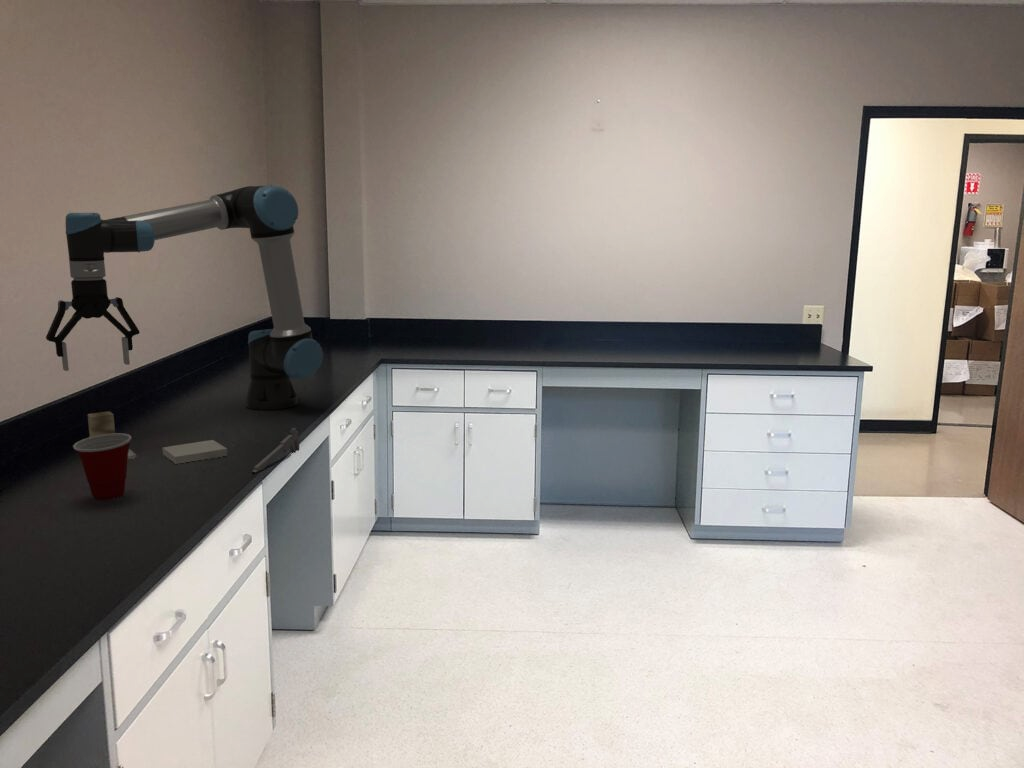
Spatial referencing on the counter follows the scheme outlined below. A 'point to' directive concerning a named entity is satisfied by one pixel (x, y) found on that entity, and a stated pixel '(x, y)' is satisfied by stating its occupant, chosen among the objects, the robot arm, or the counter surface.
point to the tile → (194, 451)
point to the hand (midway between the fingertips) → (96, 367)
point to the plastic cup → (105, 463)
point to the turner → (104, 426)
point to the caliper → (281, 449)
